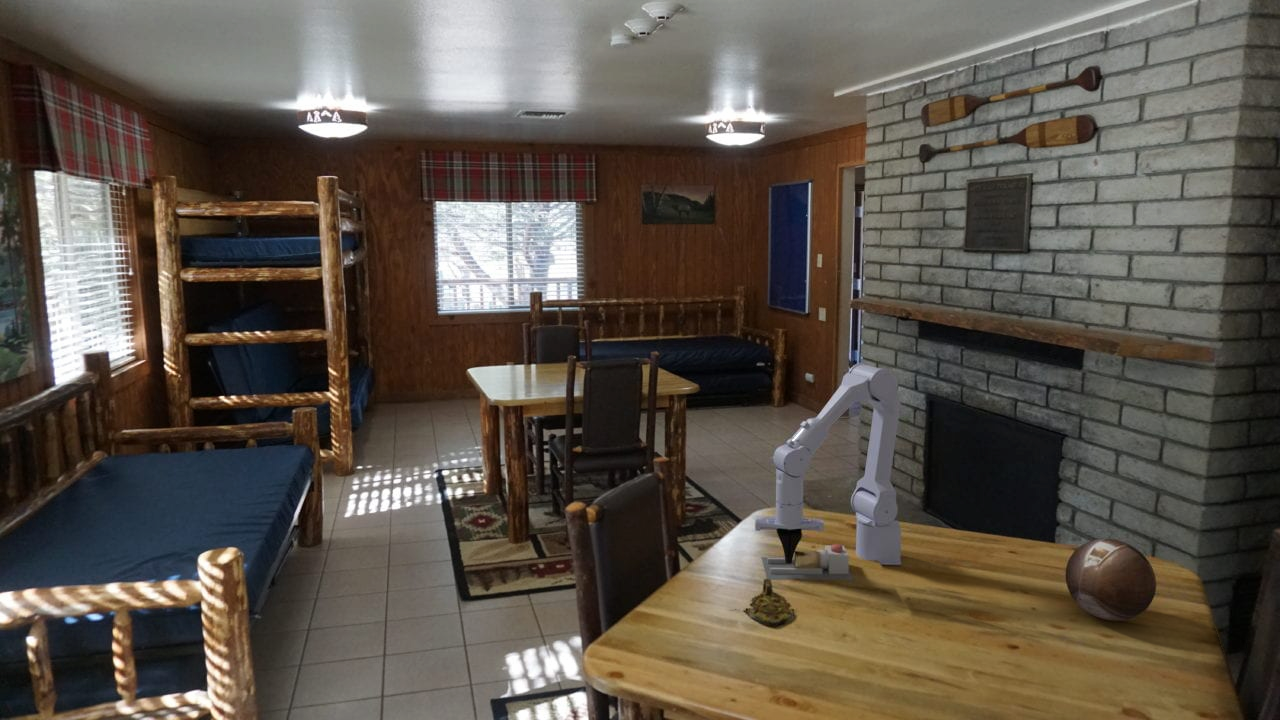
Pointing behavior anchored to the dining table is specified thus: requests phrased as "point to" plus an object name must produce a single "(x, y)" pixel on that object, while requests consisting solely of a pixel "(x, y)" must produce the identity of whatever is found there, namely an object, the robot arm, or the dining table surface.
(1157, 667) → the dining table surface
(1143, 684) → the dining table surface
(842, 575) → the valve board
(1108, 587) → the wooden sphere
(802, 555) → the brass fitting
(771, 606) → the seal
